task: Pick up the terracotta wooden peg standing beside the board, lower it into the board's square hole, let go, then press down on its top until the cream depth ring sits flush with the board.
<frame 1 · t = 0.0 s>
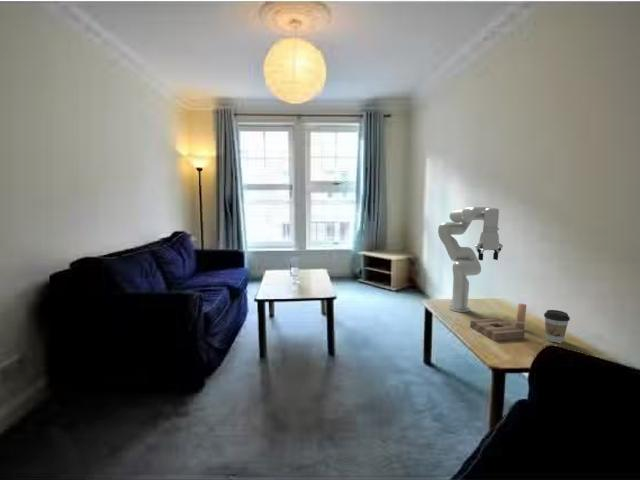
hand: (488, 259, 218), 37 cm above the table, tool pointing down, fingers open, 9 cm apart
board: (496, 332, 206), on the table
coffee cup: (554, 341, 196), on the table
peg: (520, 329, 212), on the table
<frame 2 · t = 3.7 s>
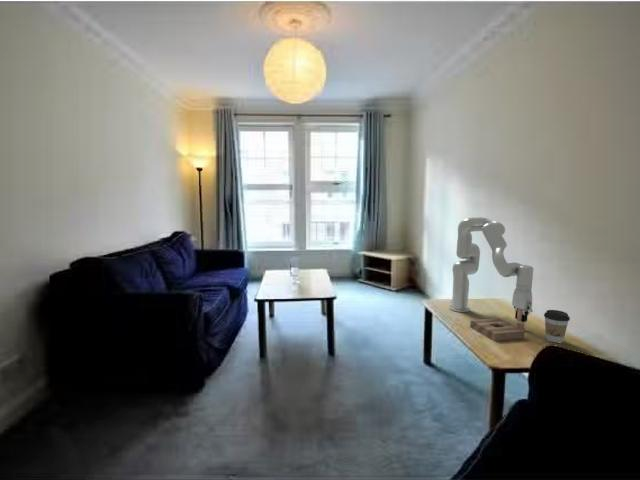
hand: (521, 319, 211), 5 cm above the table, tool pointing down, fingers closed on peg, 4 cm apart
peg: (520, 329, 212), on the table, touching gripper
everything else where it was.
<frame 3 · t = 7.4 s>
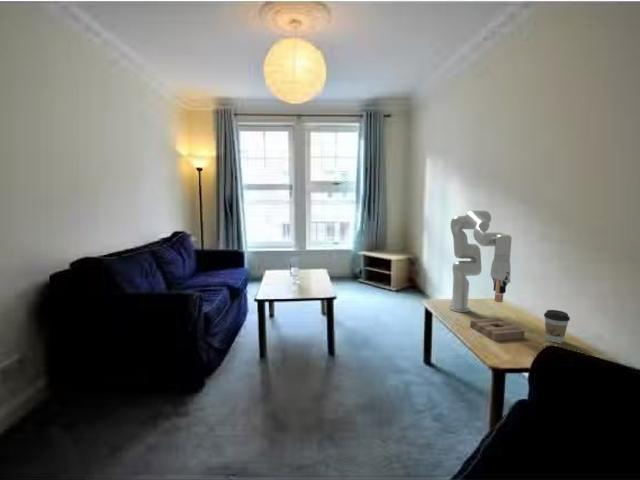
hand: (499, 291, 203), 23 cm above the table, tool pointing down, fingers closed on peg, 4 cm apart
peg: (498, 301, 204), point 17 cm above the table, touching gripper
everything else where it was.
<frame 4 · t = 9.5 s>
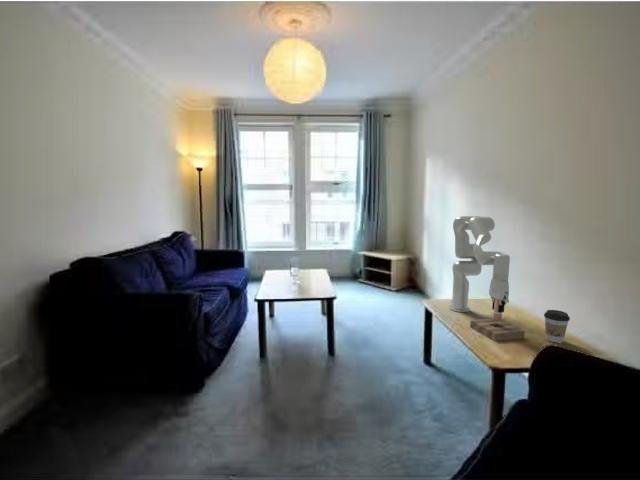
hand: (498, 310, 204), 12 cm above the table, tool pointing down, fingers closed on peg, 4 cm apart
peg: (497, 320, 205), point 7 cm above the table, touching gripper
everything else where it was.
when the fingers open (6 cm above the table, at t = 11.4 s): peg stays where it is, resting in board.
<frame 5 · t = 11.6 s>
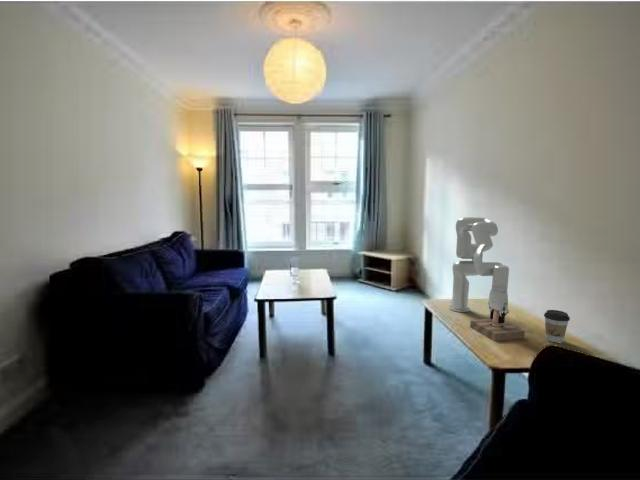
hand: (497, 320, 205), 7 cm above the table, tool pointing down, fingers open, 6 cm apart
peg: (496, 332, 206), resting in board
everything else where it was.
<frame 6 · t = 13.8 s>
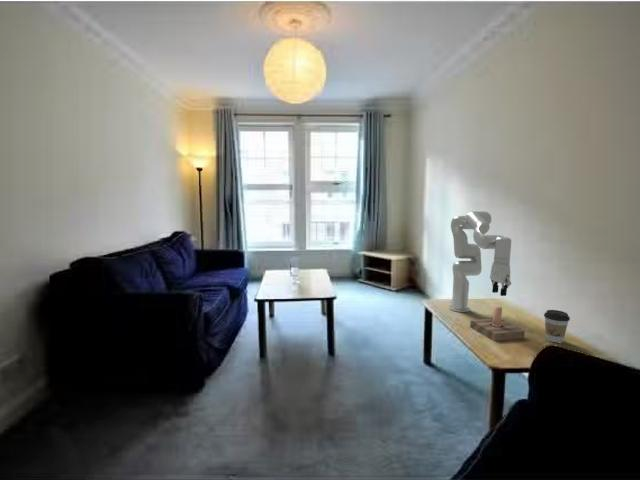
hand: (499, 293, 203), 22 cm above the table, tool pointing down, fingers open, 5 cm apart
nothing on the table moved.
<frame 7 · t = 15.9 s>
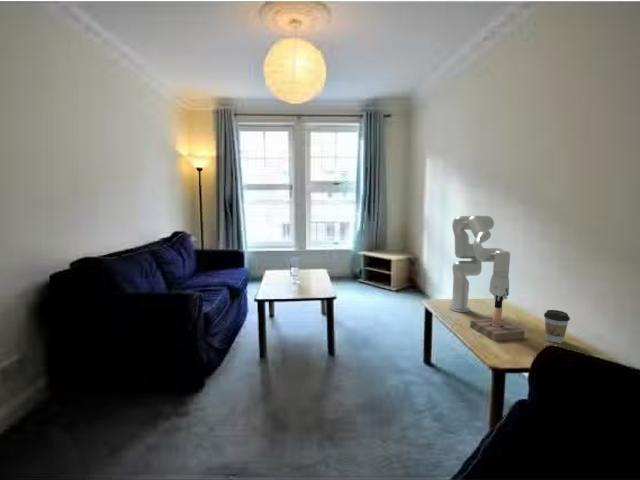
hand: (498, 307, 204), 14 cm above the table, tool pointing down, fingers closed
peg: (496, 332, 206), resting in board, touching gripper
everything else where it was.
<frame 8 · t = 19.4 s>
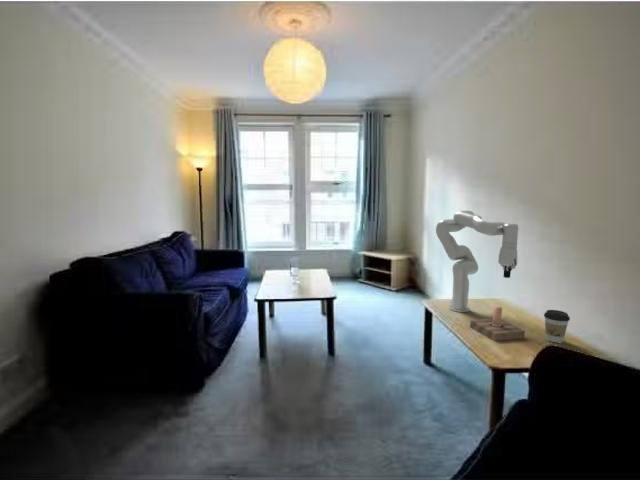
hand: (506, 277, 217), 27 cm above the table, tool pointing down, fingers closed
peg: (496, 332, 206), resting in board
everything else where it was.
at the end: peg 0.1 cm off-centre on the board, point 0.0 cm above the board's base; peg tilted 0°; the gripper is holding nothing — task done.
